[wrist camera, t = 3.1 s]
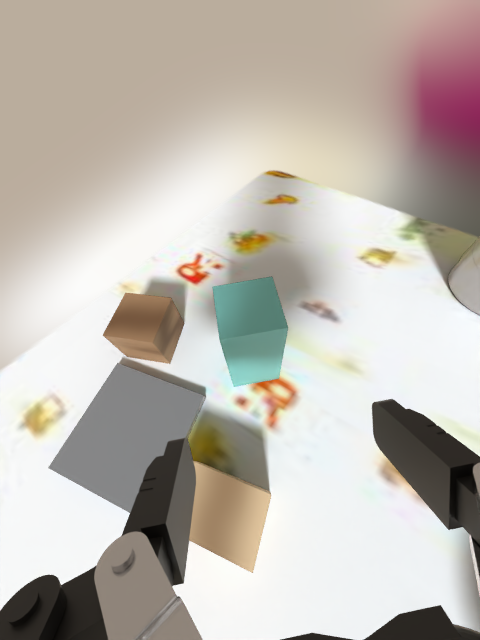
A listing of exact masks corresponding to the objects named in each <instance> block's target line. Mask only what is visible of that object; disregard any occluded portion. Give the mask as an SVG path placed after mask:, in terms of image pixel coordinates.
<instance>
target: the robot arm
mask: <svg viewBox="0 0 480 640" xmlns="http://www.w3.org/2000/svg"><path fill="white" fill-rule="evenodd" d="M448 278H449V285H450V288H451V290H452V292H453V293H454V295H455V296H456V298H457V299H458V300H459V301H460V302H461V303H462V304H464V305H465V306H466V307H467V308H469V309H470V310H472V311H473V312H475V313H477V314H478V315H480V237H479V238H478V239H477V240H476V241H475V242H474V243H473V244H472V245H471V246H470V248H469V249H468V250H467V251H466V252H465V253H464V254H463V255H462V256H461V260H460V261H459V262H458V263H457V264H456V265H455V266H454V267H453V269H452V270H451V271H450V274H449V277H448ZM372 416H373V434H374V438H375V441H376V443H377V445H378V447H379V449H380V450H381V451H382V452H383V454H384V455H385V456H386V457H387V458H388V459H389V461H390V462H391V463H392V464H393V465H394V466H395V468H396V469H397V470H398V471H399V472H400V473H401V475H402V476H403V477H404V478H405V479H406V481H407V482H408V483H409V484H410V485H411V486H412V488H413V489H414V490H415V491H416V492H417V493H418V495H419V496H420V497H421V498H422V499H423V500H424V502H425V503H426V504H427V505H428V506H429V508H430V509H431V510H432V511H433V512H434V513H435V515H436V516H437V517H438V518H439V519H440V520H441V522H442V523H443V524H444V525H445V526H446V527H447V529H448V530H450V529H455V528H460V527H464V529H465V530H466V531H467V532H468V533H469V543H470V549H471V554H472V559H473V564H474V569H475V575H476V580H477V585H478V590H479V595H480V457H479V456H478V455H477V454H475V453H474V452H473V451H471V450H470V449H469V448H467V447H466V446H465V445H463V444H462V443H461V442H459V441H458V440H457V439H455V438H454V437H453V436H451V435H450V434H448V433H446V432H445V431H444V430H443V429H442V428H440V427H439V426H436V424H435V423H434V422H432V421H431V420H430V419H428V418H427V417H426V416H424V415H422V414H420V413H418V412H415V411H413V410H411V409H405V408H404V407H402V406H401V405H400V404H399V403H397V402H396V401H395V400H393V399H389V400H384V401H378V402H374V403H373V404H372ZM195 488H196V472H195V466H194V462H193V458H192V454H191V450H190V446H189V442H188V439H187V438H182V439H176V440H171V441H168V443H167V446H166V449H165V452H164V455H163V456H158V457H156V458H155V459H154V460H153V461H152V463H151V464H150V465H149V466H148V468H147V470H146V472H145V475H144V478H143V482H142V483H141V486H140V488H139V493H138V494H137V496H136V499H135V502H134V504H133V507H132V510H131V512H130V515H129V518H128V520H127V523H126V526H125V528H124V531H123V534H122V536H121V537H119V538H118V539H117V540H115V541H114V542H113V543H112V544H111V545H110V546H109V547H108V548H107V549H106V550H105V552H104V553H103V555H102V556H101V558H100V560H99V561H98V564H97V566H95V567H94V568H92V569H90V570H89V571H87V572H85V573H83V574H81V575H79V576H78V577H76V578H74V579H72V580H70V581H68V582H66V583H64V584H63V585H61V584H60V582H59V580H58V578H57V577H56V576H54V575H44V576H41V577H39V578H37V579H35V580H33V581H31V582H30V583H28V584H27V585H25V586H24V587H23V588H21V589H20V590H19V591H18V592H17V593H16V594H15V595H14V596H13V597H12V598H11V599H10V600H9V601H8V602H7V603H6V604H5V605H4V607H3V608H2V609H1V611H0V640H202V638H201V636H200V634H199V632H198V630H197V628H196V626H195V624H194V622H193V620H192V618H191V616H190V614H189V612H188V610H187V608H186V607H185V605H184V603H183V601H182V599H181V598H180V597H179V596H178V597H177V596H176V594H175V592H174V590H173V588H172V586H173V585H178V584H183V583H184V576H185V568H186V560H187V552H188V544H189V536H190V528H191V520H192V512H193V504H194V496H195ZM282 640H352V639H346V638H340V637H334V636H328V635H322V634H316V633H309V634H305V635H300V636H296V637H291V638H286V639H282ZM364 640H480V633H479V632H477V631H474V630H472V629H469V628H465V627H462V626H459V625H454V624H452V622H451V621H450V619H449V618H448V616H447V614H446V613H445V611H444V610H443V608H442V607H441V605H439V606H434V607H430V608H425V609H421V610H416V611H411V612H407V613H402V614H399V615H397V616H396V617H395V618H393V619H392V620H391V621H389V622H388V623H386V624H385V625H384V626H382V627H381V628H380V629H378V630H377V631H376V632H374V633H373V634H372V635H370V636H369V637H367V638H366V639H364Z"/></svg>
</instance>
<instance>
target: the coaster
mask: <svg viewBox="0 0 480 640" xmlns="http://www.w3.org/2000/svg"><path fill="white" fill-rule="evenodd" d="M204 401H205V396H204V395H201V394H198V393H196V392H193V391H191V390H188V389H185V388H183V387H180V386H177V385H175V384H172V383H169V382H167V381H164V380H161V379H159V378H156V377H153V376H151V375H148V374H146V373H143V372H140V371H138V370H135V369H132V368H130V367H127V366H124V365H122V364H119V363H117V365H116V366H115V368H114V369H113V371H112V372H111V374H110V375H109V377H108V378H107V380H106V381H105V383H104V384H103V386H102V387H101V389H100V390H99V392H98V393H97V395H96V396H95V398H94V399H93V401H92V402H91V404H90V405H89V407H88V409H87V410H86V412H85V413H84V415H83V416H82V418H81V419H80V421H79V422H78V424H77V425H76V427H75V428H74V430H73V431H72V433H71V434H70V436H69V437H68V439H67V440H66V442H65V443H64V445H63V446H62V448H61V449H60V451H59V452H58V454H57V455H56V457H55V458H54V460H53V461H52V463H51V465H50V466H49V469H51V470H53V471H55V472H57V473H59V474H60V475H62V476H64V477H66V478H68V479H69V480H71V481H73V482H75V483H77V484H79V485H80V486H82V487H84V488H86V489H88V490H89V491H91V492H93V493H95V494H97V495H98V496H100V497H102V498H104V499H106V500H108V501H109V502H111V503H113V504H115V505H117V506H118V507H120V508H122V509H124V510H126V511H128V512H129V513H130V512H131V510H132V507H133V504H134V502H135V499H136V496H137V494H138V493H139V488H140V486H141V483H142V482H143V478H144V475H145V472H146V470H147V468H148V466H149V465H150V464H151V463H152V461H153V460H154V459H155V458H156V457H158V456H163V455H164V452H165V449H166V446H167V443H168V441H171V440H176V439H182V438H187V439H188V437H189V435H190V432H191V430H192V428H193V426H194V423H195V421H196V419H197V417H198V414H199V412H200V410H201V407H202V405H203V403H204Z"/></svg>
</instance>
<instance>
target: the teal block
mask: <svg viewBox="0 0 480 640" xmlns="http://www.w3.org/2000/svg"><path fill="white" fill-rule="evenodd" d="M213 294H214V302H215V309H216V317H217V324H218V332H219V339H220V343H221V346H222V349H223V353H224V356H225V359H226V363H227V366H228V369H229V373H230V376H231V379H232V382H233V386H234V387H236V386H241V385H246V384H252V383H257V382H263V381H268V380H274V379H279V374H280V369H281V363H282V358H283V353H284V347H285V342H286V337H287V331H288V326H287V322H286V319H285V316H284V313H283V310H282V306H281V303H280V300H279V297H278V294H277V290H276V287H275V284H274V281H273V278H272V277H267V278H261V279H255V280H249V281H243V282H237V283H232V284H226V285H220V286H214V287H213Z"/></svg>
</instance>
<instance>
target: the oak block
mask: <svg viewBox="0 0 480 640" xmlns="http://www.w3.org/2000/svg"><path fill="white" fill-rule="evenodd" d="M193 462H194V466H195V472H196V488H195V496H194V504H193V512H192V520H191V528H190V536H189V540H190V541H192V542H194V543H195V544H197V545H199V546H201V547H203V548H205V549H207V550H209V551H211V552H213V553H215V554H217V555H219V556H221V557H223V558H225V559H226V560H228V561H230V562H232V563H234V564H236V565H238V566H240V567H242V568H244V569H246V570H248V571H250V572H252V573H253V570H254V565H255V561H256V557H257V553H258V549H259V544H260V540H261V536H262V532H263V528H264V524H265V519H266V515H267V511H268V507H269V503H270V499H271V493H270V491H267V490H265V489H263V488H260V487H258V486H256V485H253V484H251V483H248V482H246V481H244V480H241V479H239V478H237V477H234V476H232V475H230V474H227V473H225V472H223V471H220V470H218V469H216V468H213V467H211V466H209V465H206V464H204V463H202V462H197V461H193Z"/></svg>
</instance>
